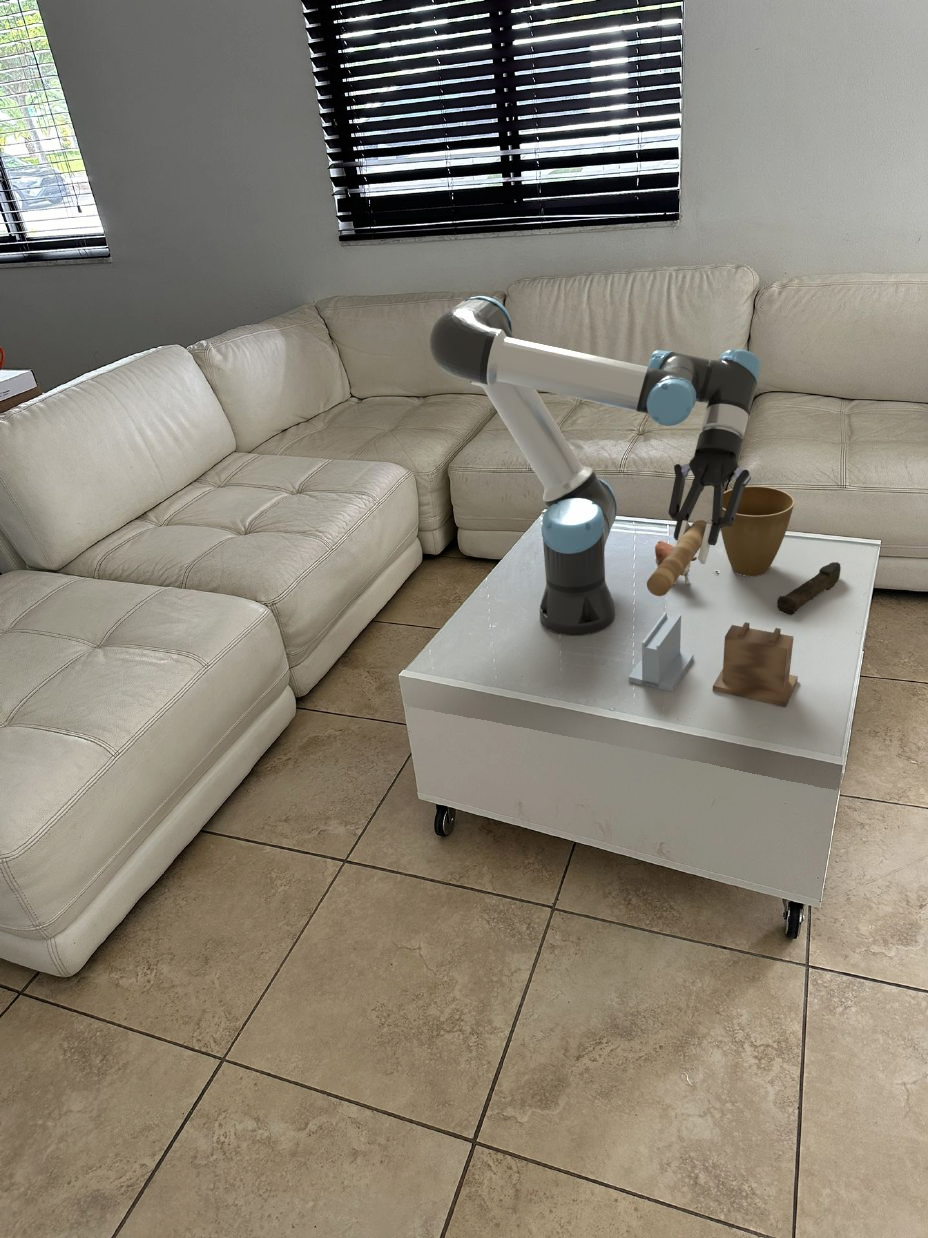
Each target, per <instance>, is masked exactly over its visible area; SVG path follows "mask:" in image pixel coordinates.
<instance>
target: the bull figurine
mask: <svg viewBox="0 0 928 1238" xmlns="http://www.w3.org/2000/svg"><path fill="white" fill-rule="evenodd" d="M674 547H675V546H673V545H671V544H670V543H668V542H665V541H662V540H659V541H658V542H657V544H656V545H655V547H654V552H655V564H656V566H657V568H658V567H659V565H660V564H661V563H662V562H663V560H664V559H665V558H666V557H667V555H668V554H669V553H670V552H671V550H672V549H673V548H674ZM696 560H698V556H694V557H693V558H692V560H691V561H690V562H689V564H688V565H687V566H686V568H685V569H684V571H683V572H682V573H681V575H680V576H682V577H684V582H685V583H684V584H685V585H686V586H691V581H690V580H689V572H690V567H691V562H694V561H696ZM672 586H678V579H677V580H676V581H675V583H674V584H673V585H672Z"/></svg>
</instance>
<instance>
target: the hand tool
mask: <svg viewBox="0 0 928 1238" xmlns="http://www.w3.org/2000/svg"><path fill="white" fill-rule="evenodd" d="M840 577H841V563H839V562H837V561H836V562H830V563H829V564H827V565H824V566H822V567H821V568H820V569H819V571H818V574H817V573H816V574H815V576H813V577H812V578H810V579H808V580H807V581H805V582H804V583H802V584H800V585H799V586H798V587H796V588H793V590H791V591H790V592H788V593H786V594H785V595H779V597H778V598H777V602H776V608H777V609H778V611H779V612H780V611H781V612H780V613H783V614H785V615H789V616H793V615H795V613H798V611H799V609H800V608H801V607H803V606H804V605H806V604H807V603H808V602H809V601H811V600H814V598H816V597H817V596H819V595H820V594H822V593H823V592H824V591H830V590H832V589H833V588H834V587H835V585H837V583H838V581H839V579H840Z"/></svg>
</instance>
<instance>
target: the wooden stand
mask: <svg viewBox="0 0 928 1238" xmlns="http://www.w3.org/2000/svg"><path fill="white" fill-rule="evenodd" d="M781 631H782V629H781V628H778V627H775V628H774V631H773V632H771V631H767V630H761V629H755V628H750V622H746V621H744V622H743V625H742V626H740V625H734V624H731V626H730V627H729V629H728V630H727V632H726V633H725V636H724V647H723V660H722V661H723V662H722V669H721V671H720V673H719V674H718V676H717V677H716V679H715V681H714V683H713V685H712V691H714V692H718V693H722V694H727V695H731V696H735V697H738V698H744V699H747V700H753V701H757V702H761V703H766V704H770V705H775V706H778V707H782V708H786V707H787V705H788V703H789V701H790V698H791V696H792V694H793V692H794V689H795V687H796V684H797V683H798V676H797V675H793V674H790V673H791V671H790V670H791V663H792V655H793V654H792V653H793V646H794V636H793V635H789V634H782V633H781Z"/></svg>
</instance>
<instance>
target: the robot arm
mask: <svg viewBox="0 0 928 1238" xmlns="http://www.w3.org/2000/svg"><path fill="white" fill-rule="evenodd" d="M429 350H430V353H431V357H432V358H433V360H434V362H435V363H436V365H437V366H438V367H439V368H440V369H441V370H442V371H443V372H444V373H445V374H448V375H450V376H452V377H455V378H457V379H461V380H464V381H469V383H470V384H471V385H473V386H478V387H481V388H482V389H483V391H484V392H485V394H486V396H487V397H488V398H489V400H490V402H491V403H492V406H493V408H495V410H496V411H497V413H498V415H499V416H500V418H501V420H502V421H503V423H504V424H505V426H506V428H507V429H508V431H509V432H510V434H511V435H512V438H513V439H514V441H515V442H516V444H517V445H518V447H519V449H520V451H521V452H522V453H523V455H524V457H525V459H526V460H527V461H528V464H530V467H531V468H532V469H533V471H534V473H535V475H536V477H537V478H538V480H539V481H540V483H541V484H542V486H543V487H544V492H543V497H542V499H543V502H544V503H545V505H546V507H547V509H546V510H545V511H544V513H543V515H542V520H541V521H542V522H541V527H540V528H541V537H542V542H543V543H542V544H543V557H544V569H545V570H544V571H545V572H544V573H545V586H544V587H545V588H544V591H543V595H542V598H541V601H540V605H539V619H540V623H541V625H543V627H545V628H546V630H548V631H551V632H553V633H556V634H559V635H564V636H574V637H575V636H585V635H586V636H587V635H591V634H595V633H598V632H600V631H602V630H605V629H606V628H608V627H609V626H610V625H612V623H613V622H614V620H615V619H616V618H615V617H616V605H615V601H614V600H613V597H612V594H611V591H610V589H609V586H608V584H607V582H606V567H605V566H606V565H605V563H606V562H605V557H606V556H605V549H606V543H607V540H608V538H609V536H610V533H611V530H612V527H613V525H614V523H615V520H616V518H617V510H618V503H617V497H616V493H615V492H614V490H613V488H612V487H611V486H610V485H609V483H607V482H606V480H603V479H602V478H599V477H598V476H597V475H596V472H594V470H593V468H592V467H591V466H585V465H582V464H581V463H580V461H579V458H577V456H576V454H575V452H574V451H573V449H572V448H571V446H570V444H569V442H568V441H567V439H566V437H565V436H564V435H563V433H562V431H561V429H560V428H559V425H558V424H557V423H556V421H555V419H554V417H553V416H552V414H551V412H550V411H549V409H548V407H547V406H546V404H545V402H544V401H543V399H542V398H541V396H540V394H539V392H538V391H541V392H546V393H550V394H555V395H560V396H564V397H569V398H574V399H578V400H582V401H587V402H592V403H594V404H595V403H596V404H601V405H605V406H610V407H615V408H619V409H624V410H629V411H634V412H636V413H642V414H646V415H649V416H650V418H651V419H652V420H653V421H654V422H655V423H657V424H659V425H661V426H667V427H671V426H672V427H673V426H678V425H679V424H681V423H682V422H684V421H685V420H687V418H688V417H689V416H690V415H691V413H692V411H693V408H694V407H695V404H696V402H698V403H703V404H707V405H706V408H705V412H704V417H703V420H702V422H701V423H702V424H701V426H700V433H699V434H698V439H697V442H696V443H697V444H696V447H695V451H694V455H693V456H692V458H691V459H690V460H689V463H686V464H682V465H681V464H679V463H676V464H674V466H673V471H674V475H675V477H674V483H673V487H672V488H673V489H672V492H671V499H670V502H669V508H668V515H669V517H670V519H671V520H673V521H676V524H675V527H674V532H673V538H674V540H675V541H676V544H677V543H678V541H679V540H680V539H681V538H682V536H683V535H684V534H685V533H686V531H687V530H688V529H689V528H690V526H691V525H690V524H689V519H690V517H691V515H692V512H693V510H694V508H695V506H696V504H697V502H698V500H699V497H700V495H701V494H702V492H703V491H704V489H705V487H710V486H711V487H713V495H712V496H713V497H712V513H711V515H712V516H711V519H710V521H711V523H709V522H708V523H707V525H706V529H705V532H704V536H703V540H702V545H701V548H700V549H699V552H698V556H697V560H698V561H699V562H700V563H699V564H702V565H706V563H707V559H708V555H709V551H710V548H711V546H716V545H717V542H718V538H719V535H720V532H721V528H722V527H725V526H728V527H730V526H732V525H733V522H734V519H735V516H736V513H737V509H738V506H739V503H740V500H741V497H742V494H743V491H744V488H745V486H748V484H749V482H750V481H751V480H752V477H751V474H750V471H749V469H742V468H740V467H739V464H738V460H739V456H740V453H741V448H742V445H743V439H744V436H745V432H746V429H747V424H748V420H749V416H750V412H751V409H752V404H753V403H754V401H753V400H754V398H755V394H756V391H757V390H756V389H757V386H758V384H759V381H758V380H759V375H760V371H761V361H760V359H759V357H757V356H756V354H754V353H753V352H751V351H748V350H745V349H740V348H739V349H737V350H736V349H735V350H734V349H728V350H726V351H724V352H722V354H720V356H719V358H718V360H717V359H709V358H708V359H707V358H704V357H699V356H695V355H694V356H693V355H688V354H683V353H679V352H675V351H674V350H670V351H668V350H659V349H657V350H655V351H653V352H652V354H651V356H650V359H649V362H648V365H647V366H645V365H640V364H636V363H632V362H627V361H622V360H617V359H612V358H608V357H604V356H599V355H594V354H588V353H584V352H580V351H575V350H569V349H565V348H562V347H555V346H551V345H546V344H541V343H538V342H537V343H536V342H531V341H529V340H522V339H518V338H515V337H514V335H513V322H512V319H511V316H510V314H509V312H508V310H507V309H506V307H505V306H504V305H503V304H502V303H500V302H499V301H498V300H496V299H494V298H491V297H489V296H484V295H482V296H481V295H478V296H473V297H468V298H466V299H465V300H464V299H463V300H462V301H460V302H458V304H457V305H455V306H454V307H453V308H451V309H450V310H448V311H447V312H444V313H443V314H442V315H441V316H440V317H439V318H437V320H436V321H435V323H434V324H433V326H432V329H431V332H430V335H429ZM690 471H691V472H692V474H693V480H692V483H691V486H690V488H689V490H688V492H687V495H686V497H685V499H684V501H683V503H682V499H683V497H684V496H683V495H684V490H685V485H686V478H688V477H689V476H688V475H689V473H690ZM733 477H734V479H735V481H734V484H733V487H732V489H733V490H732V493H731V496H730V499H729V502H728V505H727V508H726V511H725V515H724V517H722V511H723V494H724V492H725V485H726V483H727V482H728V481H729V480H730V479H732V478H733ZM681 504H682V505H681Z"/></svg>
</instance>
